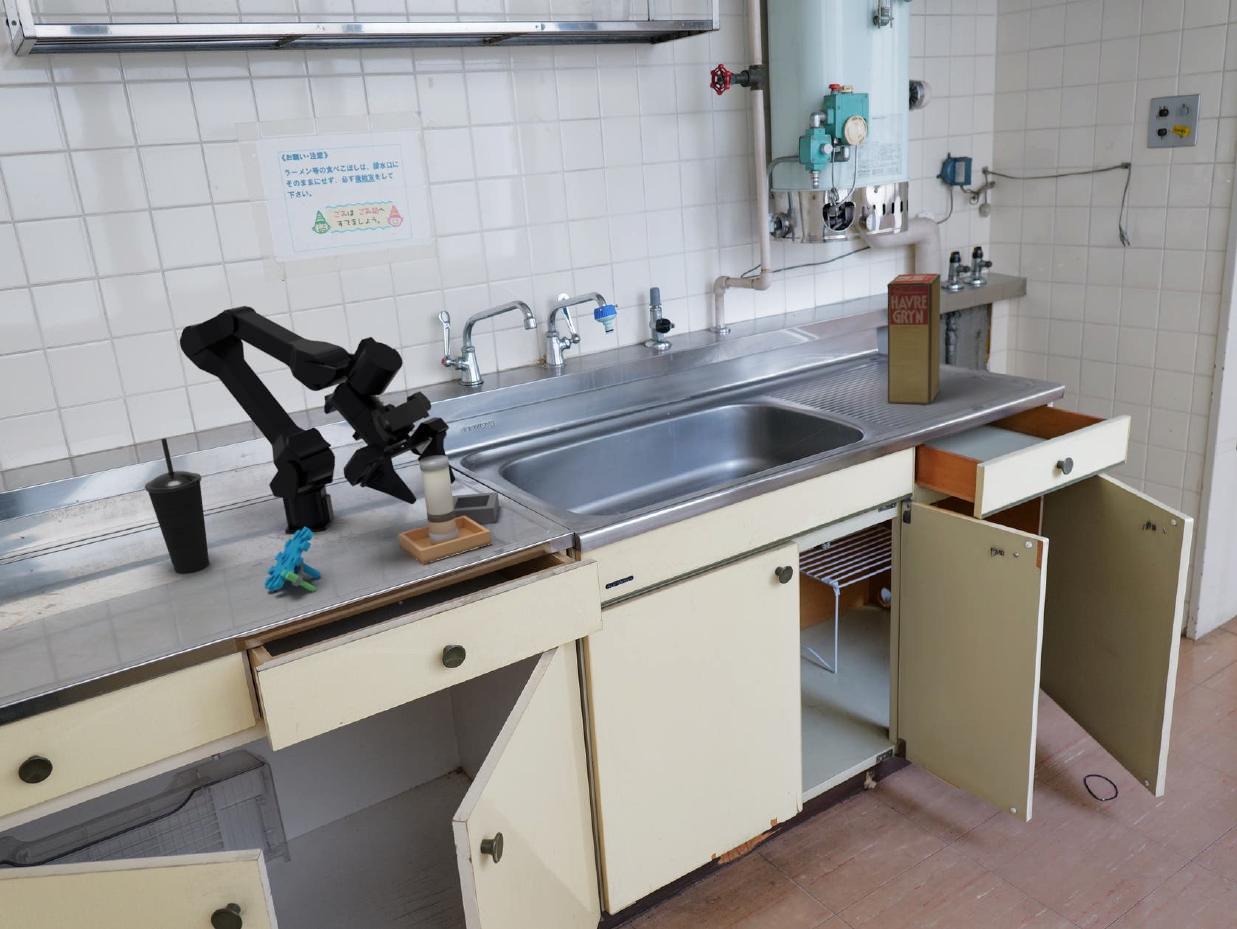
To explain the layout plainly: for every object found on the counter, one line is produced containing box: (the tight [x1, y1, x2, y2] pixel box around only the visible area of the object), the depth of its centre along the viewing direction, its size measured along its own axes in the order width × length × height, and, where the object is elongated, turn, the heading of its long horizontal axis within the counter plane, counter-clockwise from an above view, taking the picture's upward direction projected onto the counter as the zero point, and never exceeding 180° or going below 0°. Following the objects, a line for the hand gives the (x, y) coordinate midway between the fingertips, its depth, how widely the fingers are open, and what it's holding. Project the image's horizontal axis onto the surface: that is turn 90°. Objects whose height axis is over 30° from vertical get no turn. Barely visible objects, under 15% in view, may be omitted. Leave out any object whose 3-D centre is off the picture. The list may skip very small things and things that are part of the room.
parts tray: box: [397, 515, 492, 565], centre depth 149 cm, size 11×9×2 cm
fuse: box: [418, 455, 459, 546], centre depth 147 cm, size 4×4×13 cm
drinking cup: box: [144, 438, 210, 574], centre depth 146 cm, size 8×8×20 cm
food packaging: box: [886, 273, 941, 406], centre depth 207 cm, size 13×9×25 cm
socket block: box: [452, 491, 500, 525], centre depth 160 cm, size 8×8×2 cm
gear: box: [264, 527, 322, 593], centre depth 139 cm, size 11×6×10 cm
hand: (434, 491), depth 147 cm, fingers open, 9 cm apart
